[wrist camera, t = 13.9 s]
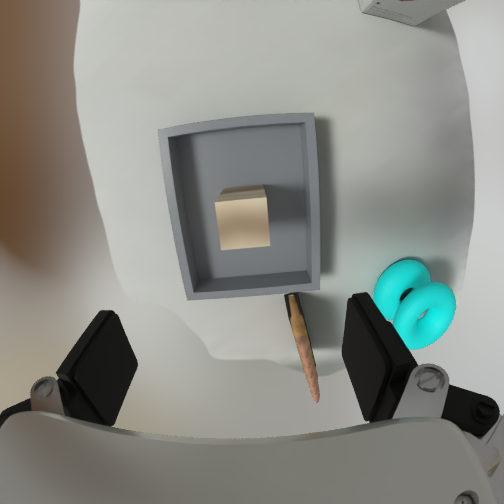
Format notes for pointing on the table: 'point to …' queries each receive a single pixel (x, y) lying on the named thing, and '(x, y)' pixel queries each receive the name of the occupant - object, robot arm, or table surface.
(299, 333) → the ammunition clip
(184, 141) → the tray
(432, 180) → the table surface
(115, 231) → the table surface
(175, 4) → the table surface
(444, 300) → the donuts
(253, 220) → the birch block
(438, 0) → the supplement box
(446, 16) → the table surface
